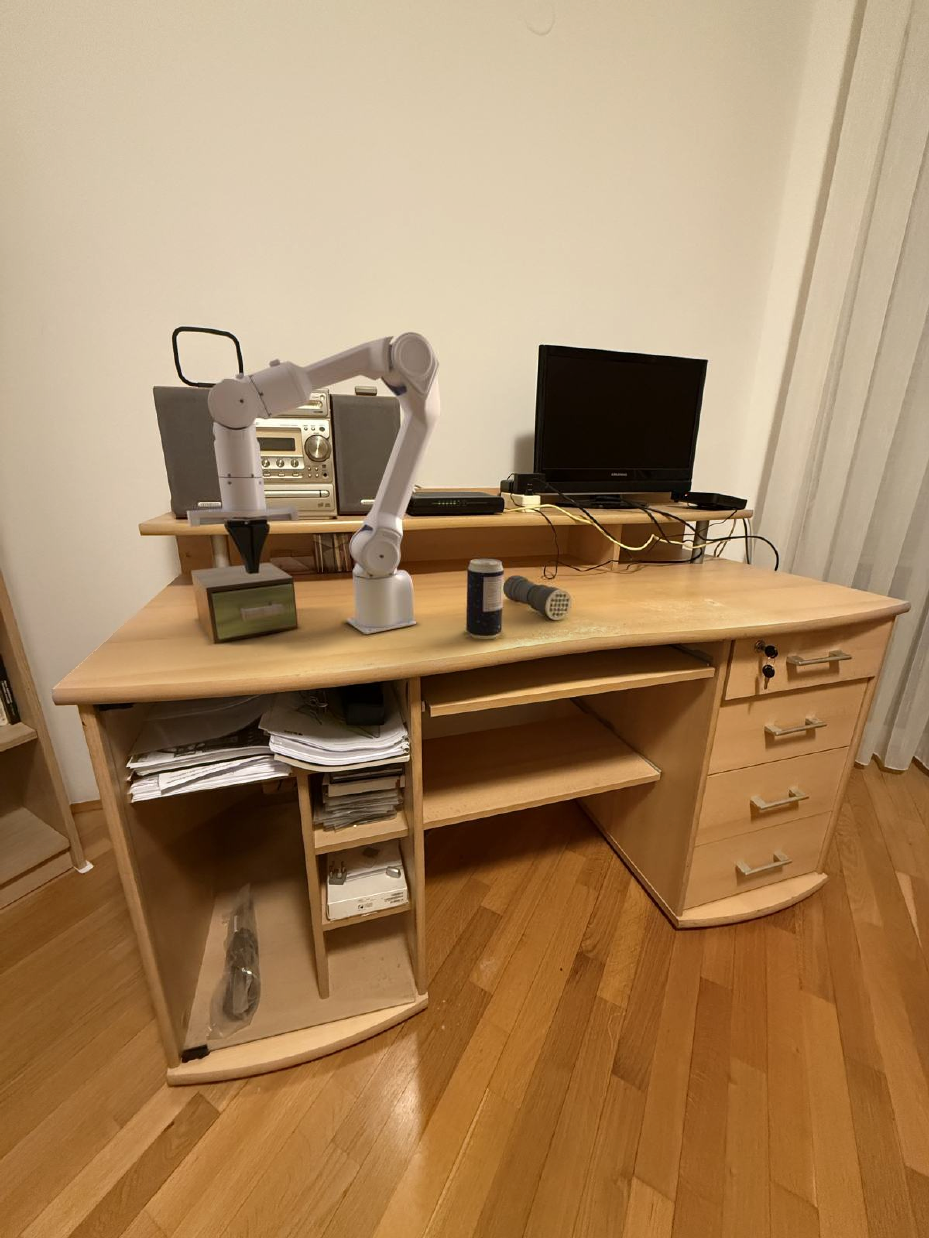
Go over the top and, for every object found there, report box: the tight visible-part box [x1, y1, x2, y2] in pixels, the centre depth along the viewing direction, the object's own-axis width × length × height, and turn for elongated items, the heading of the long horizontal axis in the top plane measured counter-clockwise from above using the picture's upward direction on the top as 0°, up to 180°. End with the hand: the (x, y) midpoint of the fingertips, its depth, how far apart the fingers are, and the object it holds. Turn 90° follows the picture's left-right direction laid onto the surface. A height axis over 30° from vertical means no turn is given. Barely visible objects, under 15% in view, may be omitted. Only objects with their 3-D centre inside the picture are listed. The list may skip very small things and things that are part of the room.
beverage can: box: [465, 558, 505, 640], centre depth 77 cm, size 6×6×12 cm
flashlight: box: [503, 574, 573, 621], centre depth 93 cm, size 15×5×5 cm, turn 28°
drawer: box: [211, 584, 296, 639], centre depth 78 cm, size 17×11×7 cm, turn 36°
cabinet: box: [190, 562, 299, 644], centre depth 81 cm, size 14×13×9 cm
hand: (252, 572), depth 73 cm, fingers closed
